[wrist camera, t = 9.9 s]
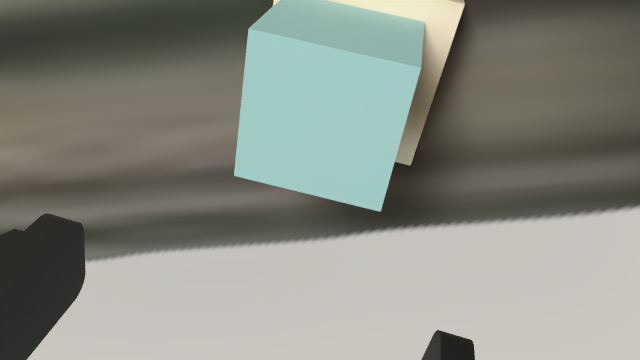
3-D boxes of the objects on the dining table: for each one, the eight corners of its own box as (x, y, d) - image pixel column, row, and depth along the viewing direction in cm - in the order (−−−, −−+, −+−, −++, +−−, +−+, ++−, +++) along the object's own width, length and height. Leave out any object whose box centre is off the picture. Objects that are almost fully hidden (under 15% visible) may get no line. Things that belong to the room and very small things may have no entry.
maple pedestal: (295, -52, 26) (280, -42, 23) (462, -11, 25) (464, 4, 23) (270, 101, 30) (255, 124, 27) (412, 139, 29) (410, 165, 27)
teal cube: (289, -9, 24) (248, 28, 19) (424, 22, 23) (420, 67, 18) (272, 115, 27) (233, 175, 22) (391, 143, 26) (380, 211, 21)
